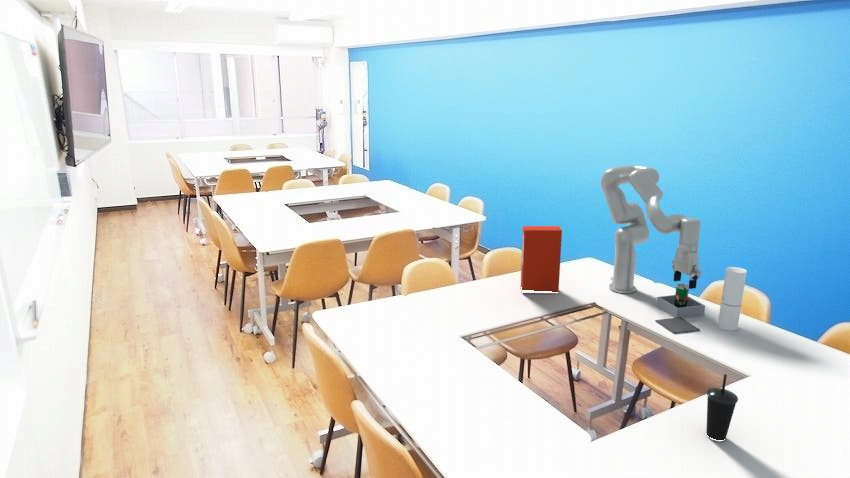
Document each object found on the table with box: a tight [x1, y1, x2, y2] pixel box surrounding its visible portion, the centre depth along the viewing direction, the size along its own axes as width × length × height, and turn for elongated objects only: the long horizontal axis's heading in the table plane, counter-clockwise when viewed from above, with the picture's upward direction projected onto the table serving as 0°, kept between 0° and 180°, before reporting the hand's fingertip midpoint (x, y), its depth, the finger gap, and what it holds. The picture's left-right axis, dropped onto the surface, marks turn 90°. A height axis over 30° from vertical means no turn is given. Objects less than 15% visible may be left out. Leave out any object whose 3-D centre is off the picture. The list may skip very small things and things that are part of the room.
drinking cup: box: [705, 374, 739, 440], centre depth 148 cm, size 8×8×20 cm
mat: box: [654, 317, 701, 335], centre depth 219 cm, size 12×12×1 cm
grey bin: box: [656, 294, 706, 319], centre depth 233 cm, size 14×14×4 cm
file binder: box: [520, 225, 563, 293], centre depth 254 cm, size 8×17×32 cm, turn 86°
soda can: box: [674, 283, 690, 308], centre depth 232 cm, size 5×5×12 cm
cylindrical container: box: [717, 266, 748, 332], centre depth 214 cm, size 7×7×25 cm
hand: (684, 284), depth 230 cm, fingers open, 9 cm apart
